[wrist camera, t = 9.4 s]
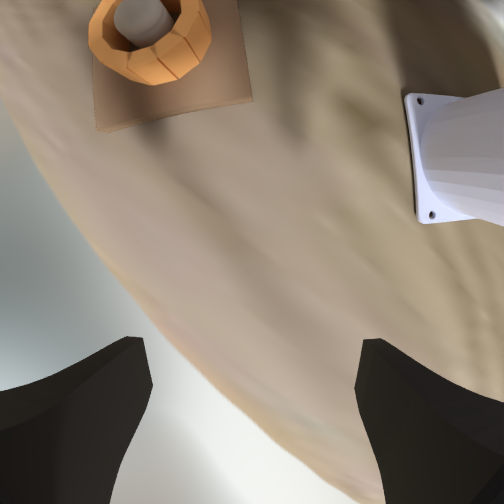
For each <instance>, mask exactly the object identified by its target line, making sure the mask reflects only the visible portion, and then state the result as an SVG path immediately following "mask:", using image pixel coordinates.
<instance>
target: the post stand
mask: <svg viewBox="0 0 504 504" xmlns="http://www.w3.org/2000/svg"><path fill="white" fill-rule="evenodd" d="M202 3H203V5H204V8H205V10H206V13H207V15H208V17H209V21H210V29H211V36H212V39H211V43H210V45H209V47H208V49H207V51H206V53H205V55H204V57H203V59H202V61H199V62H200V63H199V64H198V65H197V66H195V67H194V68H193V69H191V70H190V71H189V72H187V73H186V74H185V75H184V76H182V77H181V78H180V79H179V78H178V80H174V81H170V82H166V83H162V84H158V85H154V86H153V85H152V86H151V85H147V84H143V83H139V82H135V81H131V80H129V79H128V78H126V77H124V76H123V75H121V74H119V73H118V72H116V71H114V70H113V69H111V68H109V67H107V66H106V65H104V64H102V63H101V62H100V61H99V60H98V58H97V57H96V56H95V55H94V53H93V52H92V64H93V94H94V110H95V123H96V131H101V132H106V133H109V132H112V131H116V130H119V129H123V128H126V127H130V126H134V125H137V124H141V123H145V122H149V121H153V120H157V119H161V118H165V117H170V116H174V115H179V114H183V113H188V112H193V111H198V110H204V109H209V108H215V107H220V106H227V105H233V104H239V103H246V102H253V98H252V91H251V85H250V78H249V72H248V65H247V59H246V52H245V46H244V40H243V33H242V27H241V21H240V15H239V9H238V3H237V0H202ZM97 8H98V7H95V8H94V11H93V15H94V13H95V12H96V10H97ZM179 16H180V13H174V12H168V11H167V10H166V8H165V7H164V5H163V4H162V2H161V1H160V0H123V1H122V2H121V3H120V4H119V5H118V7H117V8H116V11H115V13H114V24H115V27H116V29H117V30H118V31H119V32H120V33H121V34H122V35H123V36H125V37H126V38H127V39H128V40H129V41H130V42H129V51H130V52H133V51H136V50H139V49H143V48H146V47H149V46H152V45H154V44H155V43H156V42H157V41H159V40H160V39H161V38H163V37H164V36H165V35H166V34H168V33H169V32H170V31H171V30H172V29H173V27H174V25H175V23H176V21H177V19H178V18H179Z"/></svg>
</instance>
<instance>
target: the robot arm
mask: <svg viewBox="0 0 504 504" xmlns="http://www.w3.org/2000/svg"><path fill="white" fill-rule="evenodd" d="M417 98H419V99H420V100H421V105H419V104H418V102H417ZM404 102H405V108H406V114H407V120H408V127H409V134H410V142H411V150H412V159H413V169H414V181H415V196H416V216H417V220H418V221H419V222H420V223H423V224H429V223H439V222H448V221H457V220H466V219H476V218H479V219H482V220H485V221H488V222H491V223H495V224H498V225H501V226H504V88H501V89H497V90H493V91H489V92H485V93H482V94H478V95H475V96H471V97H468V98H463V97H454V96H445V95H434V94H420V93H409V94H407V95H406V96H405V98H404ZM431 211H432V213H433V216H432V217H431V218H429V213H430V212H431ZM152 387H153V383H152V379H151V375H150V370H149V366H148V361H147V356H146V351H145V346H144V342H143V338H140V337H128V336H126V337H124V338H122V339H120V340H118V341H116V342H114V343H112V344H110V345H108V346H106V347H105V348H103V349H101V350H99V351H98V352H96V353H94V354H92V355H90V356H89V357H87V358H85V359H83V360H81V361H79V362H77V363H75V364H73V365H71V366H70V367H67V368H66V369H63V370H61V371H60V372H58V373H55V374H53V375H51V376H48V377H46V378H44V379H41V380H38V381H35V382H33V383H30V384H27V385H23V386H19V387H16V388H12V389H8V390H4V391H0V504H109V503H110V499H111V495H112V491H113V487H114V484H115V481H116V477H117V473H118V471H119V467H120V464H121V462H122V460H123V457H124V455H125V453H126V451H127V448H128V446H129V444H130V442H131V440H132V438H133V436H134V433H135V432H136V429H137V427H138V425H139V423H140V421H141V419H142V416H143V414H144V412H145V410H146V407H147V404H148V401H149V398H150V394H151V391H152ZM354 389H355V394H356V399H357V404H358V408H359V413H360V416H361V418H362V421H363V424H364V427H365V430H366V432H367V435H368V438H369V441H370V443H371V446H372V449H373V452H374V455H375V457H376V460H377V463H378V467H379V470H380V474H381V479H382V484H383V489H384V495H385V501H386V504H504V402H500V401H497V400H494V399H491V398H488V397H485V396H482V395H479V394H477V393H474V392H472V391H470V390H467V389H465V388H463V387H461V386H458V385H456V384H454V383H452V382H450V381H449V380H447V379H445V378H443V377H441V376H440V375H438V374H436V373H434V372H433V371H431V370H429V369H428V368H426V367H425V366H423V365H421V364H420V363H418V362H417V361H415V360H414V359H412V358H411V357H409V356H408V355H406V354H405V353H403V352H402V351H400V350H399V349H397V348H396V347H394V346H393V345H391V344H390V343H388V342H386V341H385V340H383V339H381V338H378V339H364V340H363V345H362V351H361V357H360V362H359V368H358V373H357V378H356V383H355V387H354Z"/></svg>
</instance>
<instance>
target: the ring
mask: <svg viewBox="0 0 504 504" xmlns="http://www.w3.org/2000/svg"><path fill="white" fill-rule="evenodd" d="M122 1H123V0H105V1H103V0H102V1H101V3H100V5H99V6H98V8H97V10H96V12H95V13H94V15H93V17H92V19H91V20H90V22H89V23H90V24H89V34H88V46H89V48H90V49H91V51H92V52H93V53H94V55H95V56H96V57H97V58H98V60H99V61H100V62H101V63H102V64H104V65H106V66H107V67H109V68H111V69H113V70H114V71H116V72H118V73H119V74H121V75H123V76H124V77H126V78H128V79H129V80H131V81H135V82H139V83H143V84H147V85H151V86H152V85H153V86H154V85H158V84H162V83H166V82H170V81H174V80H178V78H179V79H180V78H181V77H182V76H184V75H185V74H186V73H187V72H189V71H190V70H191V69H193V68H194V67H195V66H197V65H198V64H199V63H200V62H199V61H202V59H203V57H204V55H205V53H206V51H207V49H208V47H209V45H210V43H211V39H212V36H211V29H210V21H209V17H208V15H207V13H206V10H205V8H204V5H203V3H202V0H160V1H161V2H162V4H163V5H164V7H165V8H166V10H167V11H168V12H174V13H180V16H179V18H178V19H177V21H176V23H175V25H174V27H173V29H172V30H171V31H170V32H169V33H168V34H166V35H165V36H164V37H163V38H161V39H160V40H159V41H157V42H156V43H155V44H154V45H152V46H149V47H146V48H143V49H139V50H136V51H133V52H130V51H129V42H130V41H129V40H128V39H127V38H126V37H125V36H123V35H122V34H121V33H120V32H119V31H118V30H117V29H116V27H115V24H114V13H115V11H116V8H117V7H118V5H119V4H120V3H121V2H122Z"/></svg>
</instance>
